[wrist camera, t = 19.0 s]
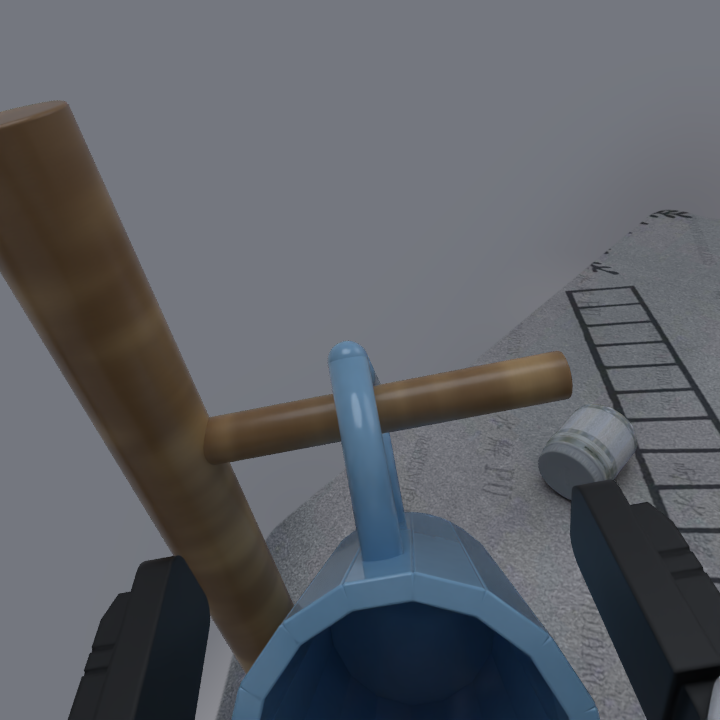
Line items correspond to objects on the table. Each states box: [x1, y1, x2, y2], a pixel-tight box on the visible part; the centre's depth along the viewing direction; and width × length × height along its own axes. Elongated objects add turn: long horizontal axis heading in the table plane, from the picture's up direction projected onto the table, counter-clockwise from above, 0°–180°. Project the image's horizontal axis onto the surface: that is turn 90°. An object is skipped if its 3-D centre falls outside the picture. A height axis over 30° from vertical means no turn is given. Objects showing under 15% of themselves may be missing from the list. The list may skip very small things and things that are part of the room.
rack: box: [0, 101, 573, 674], centre depth 21 cm, size 14×8×42 cm, turn 94°
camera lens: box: [538, 404, 637, 500], centre depth 52 cm, size 6×6×8 cm
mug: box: [231, 341, 600, 720], centre depth 15 cm, size 11×6×10 cm
